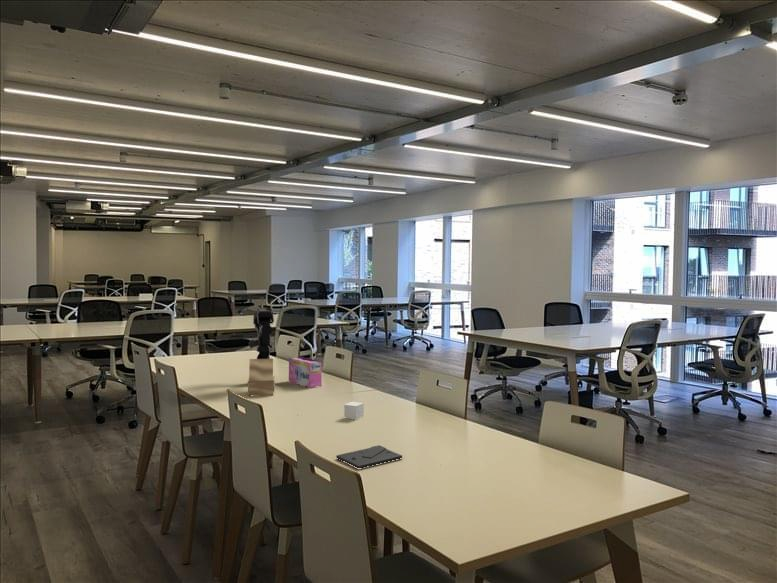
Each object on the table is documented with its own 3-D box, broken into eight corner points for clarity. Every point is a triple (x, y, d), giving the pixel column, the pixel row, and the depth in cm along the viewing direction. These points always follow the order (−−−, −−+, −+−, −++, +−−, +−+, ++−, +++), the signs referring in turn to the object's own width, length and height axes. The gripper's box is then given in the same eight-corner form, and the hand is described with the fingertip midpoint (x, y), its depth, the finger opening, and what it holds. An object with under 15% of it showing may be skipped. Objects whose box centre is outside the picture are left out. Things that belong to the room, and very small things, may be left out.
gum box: (286, 381, 333) (286, 357, 333) (299, 379, 338) (299, 356, 338) (309, 388, 315) (309, 362, 314) (322, 386, 320) (322, 361, 319)
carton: (249, 391, 307) (249, 376, 306) (274, 390, 309) (274, 375, 309) (247, 396, 295) (247, 381, 294) (274, 395, 297) (274, 380, 297)
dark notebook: (378, 451, 210) (336, 460, 200) (378, 444, 210) (336, 454, 200) (402, 461, 200) (358, 472, 189) (402, 454, 200) (358, 465, 189)
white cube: (356, 420, 250) (356, 406, 250) (344, 418, 253) (344, 404, 253) (363, 416, 256) (363, 403, 255) (351, 415, 259) (351, 401, 258)
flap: (249, 359, 300) (249, 359, 299) (272, 358, 302) (272, 358, 301) (249, 381, 294) (249, 380, 294) (272, 380, 296) (272, 380, 296)
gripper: (251, 332, 324) (252, 361, 324) (247, 335, 306) (247, 366, 306) (272, 332, 325) (272, 361, 325) (269, 335, 307) (269, 365, 307)
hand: (265, 363), depth 316 cm, fingers closed
